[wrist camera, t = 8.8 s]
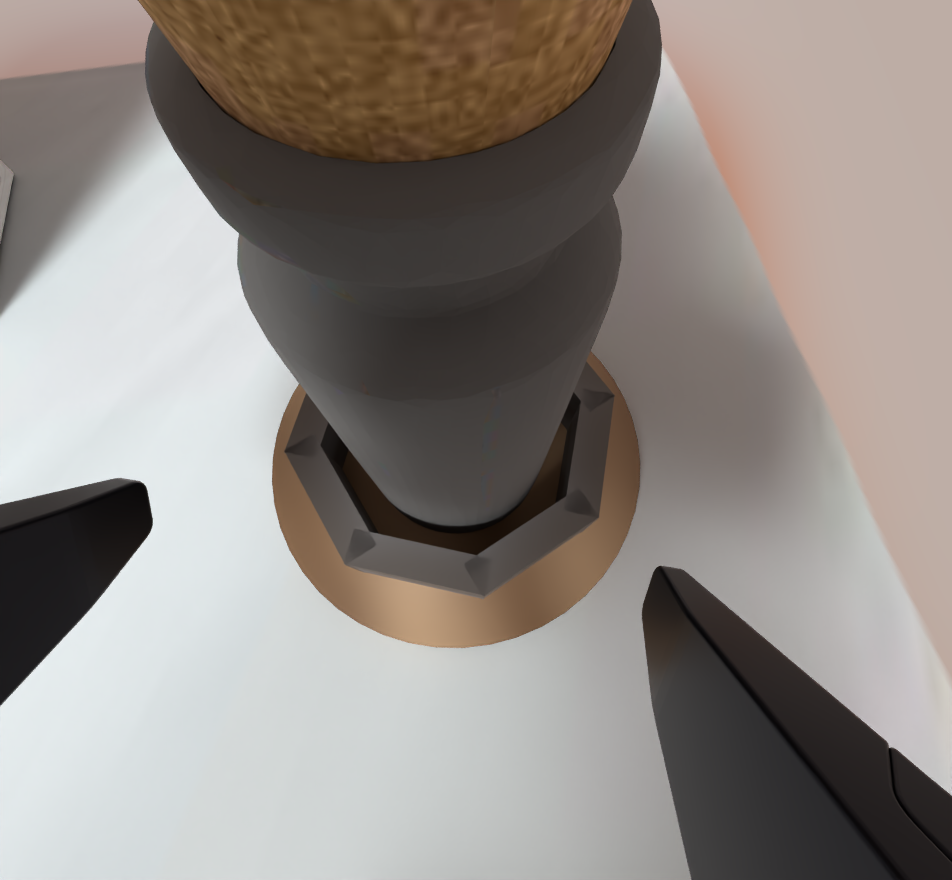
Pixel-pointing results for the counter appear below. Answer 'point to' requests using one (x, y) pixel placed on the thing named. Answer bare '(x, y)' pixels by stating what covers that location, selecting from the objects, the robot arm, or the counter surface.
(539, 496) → the ring coaster
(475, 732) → the counter surface
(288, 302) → the bottle
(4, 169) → the supplement box
